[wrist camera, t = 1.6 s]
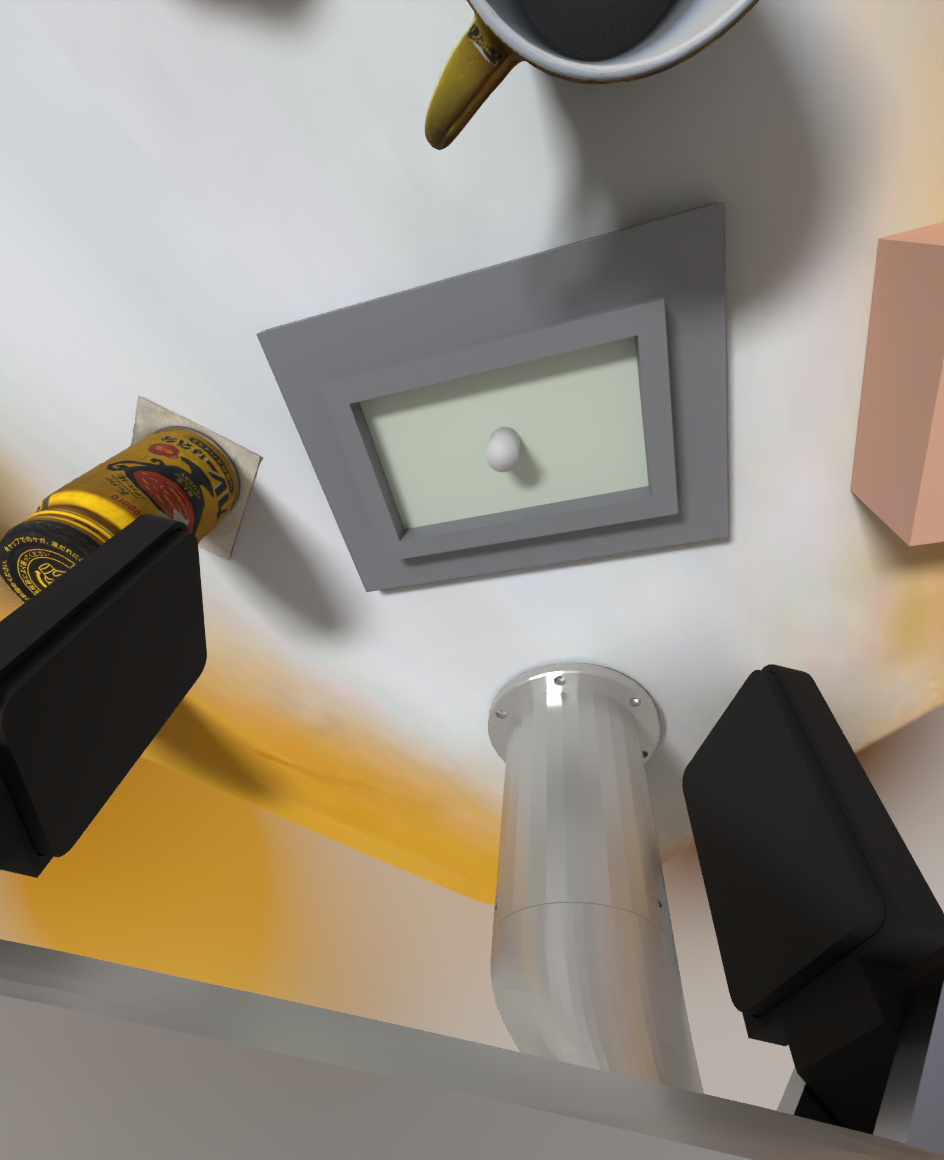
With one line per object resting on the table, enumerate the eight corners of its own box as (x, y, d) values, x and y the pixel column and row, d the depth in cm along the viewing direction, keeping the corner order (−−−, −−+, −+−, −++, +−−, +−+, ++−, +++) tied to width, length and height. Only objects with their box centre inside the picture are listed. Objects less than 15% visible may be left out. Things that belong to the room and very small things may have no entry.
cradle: (722, 526, 32) (739, 558, 29) (371, 581, 37) (356, 613, 35) (716, 202, 24) (739, 202, 21) (266, 329, 29) (235, 343, 26)
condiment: (261, 454, 33) (140, 561, 23) (230, 559, 38) (116, 685, 28) (140, 394, 32) (-43, 479, 22) (122, 509, 37) (-36, 623, 27)
